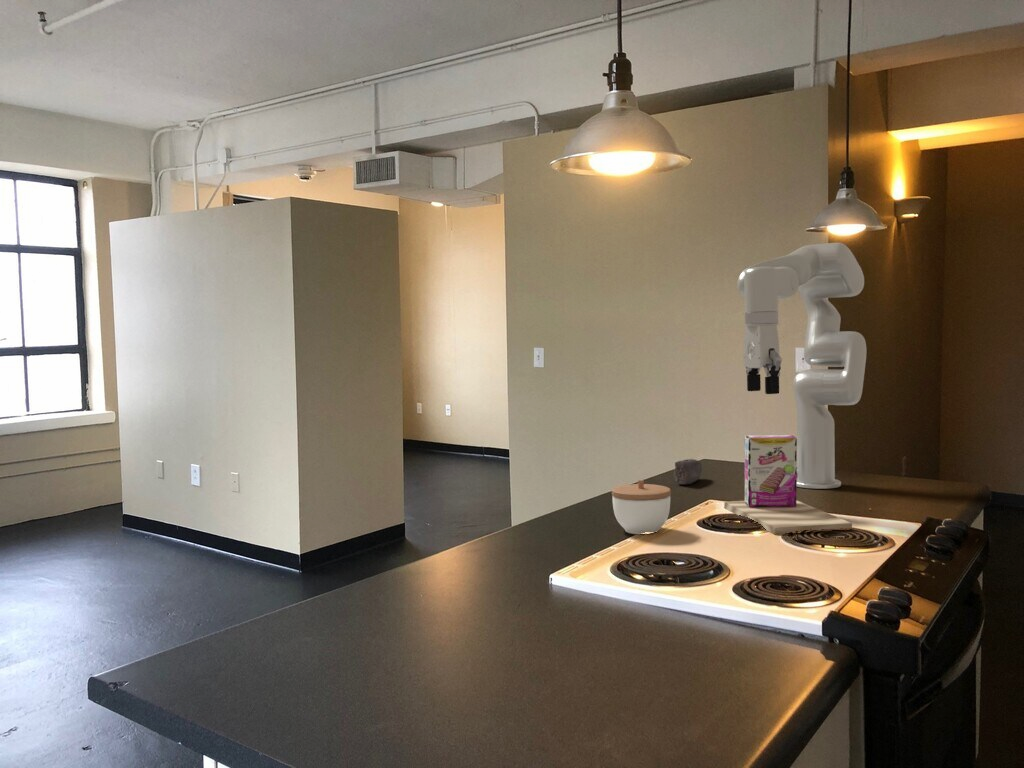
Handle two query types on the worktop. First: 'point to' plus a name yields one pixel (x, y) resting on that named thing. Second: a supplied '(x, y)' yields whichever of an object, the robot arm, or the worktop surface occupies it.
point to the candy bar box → (770, 470)
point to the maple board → (788, 517)
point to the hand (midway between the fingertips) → (762, 392)
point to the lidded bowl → (641, 506)
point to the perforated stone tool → (687, 471)
